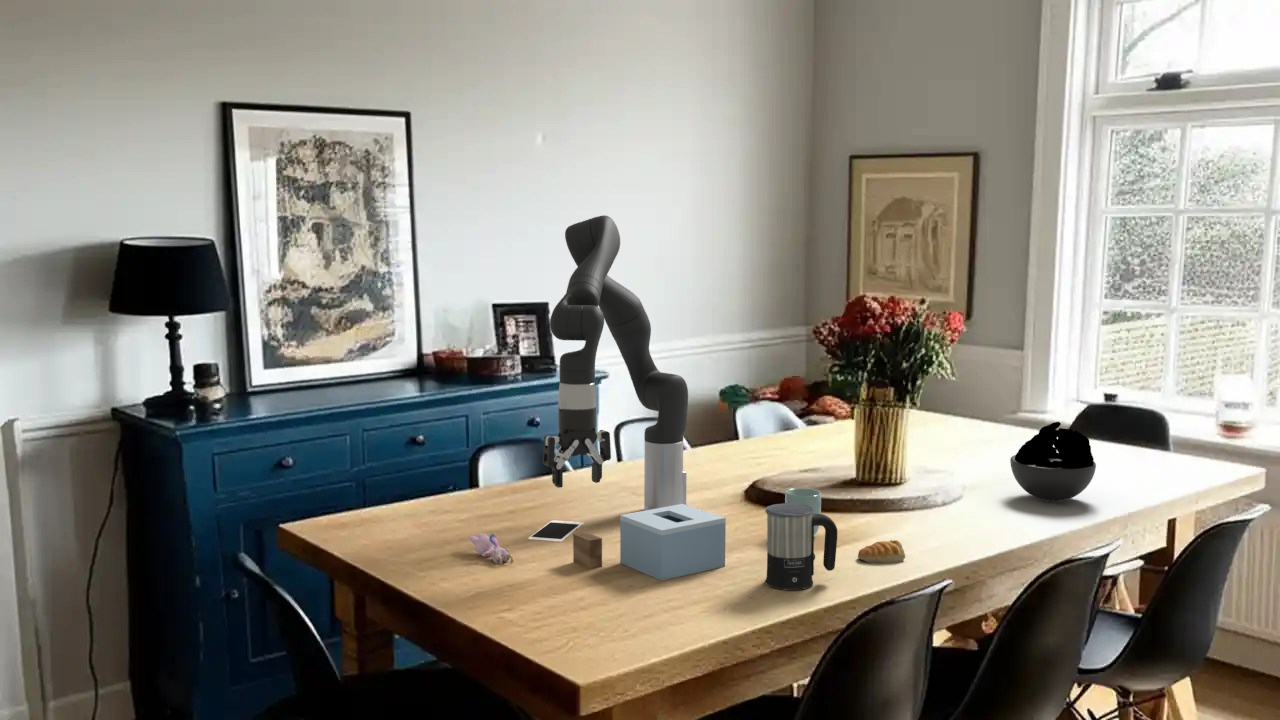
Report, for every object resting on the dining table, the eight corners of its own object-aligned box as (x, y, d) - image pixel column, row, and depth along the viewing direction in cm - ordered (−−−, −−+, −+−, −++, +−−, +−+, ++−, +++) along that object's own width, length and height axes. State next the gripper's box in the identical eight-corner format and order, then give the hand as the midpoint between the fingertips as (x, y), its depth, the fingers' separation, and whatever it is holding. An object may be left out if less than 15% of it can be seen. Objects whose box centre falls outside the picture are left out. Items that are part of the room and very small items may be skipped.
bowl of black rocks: (1067, 515, 277) (1071, 436, 275) (992, 499, 292) (995, 424, 289) (1109, 501, 290) (1113, 426, 288) (1035, 487, 305) (1038, 415, 303)
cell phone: (584, 524, 269) (584, 522, 269) (560, 544, 253) (560, 541, 253) (552, 522, 271) (552, 519, 271) (526, 541, 255) (526, 538, 255)
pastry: (868, 566, 237) (868, 548, 237) (851, 557, 243) (851, 539, 243) (908, 562, 240) (908, 543, 240) (889, 553, 247) (890, 535, 246)
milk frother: (779, 593, 220) (780, 516, 218) (739, 570, 234) (740, 497, 232) (844, 584, 225) (845, 509, 223) (801, 562, 240) (802, 491, 238)
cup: (823, 533, 261) (824, 489, 259) (816, 542, 253) (817, 497, 252) (788, 530, 263) (789, 486, 262) (781, 539, 256) (782, 494, 255)
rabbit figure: (519, 569, 239) (484, 540, 251) (521, 542, 237) (485, 515, 249) (492, 574, 235) (458, 545, 247) (494, 547, 234) (459, 519, 245)
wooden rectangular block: (585, 560, 241) (585, 531, 240) (602, 567, 236) (601, 538, 235) (573, 562, 239) (573, 533, 238) (589, 569, 234) (589, 540, 233)
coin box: (682, 549, 248) (682, 503, 246) (725, 566, 236) (725, 517, 235) (620, 562, 238) (620, 515, 237) (661, 580, 227) (661, 530, 226)
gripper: (599, 399, 241) (598, 477, 243) (536, 405, 233) (537, 484, 235) (617, 404, 234) (617, 484, 236) (554, 410, 227) (554, 492, 229)
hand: (577, 484), depth 236 cm, fingers open, 8 cm apart
